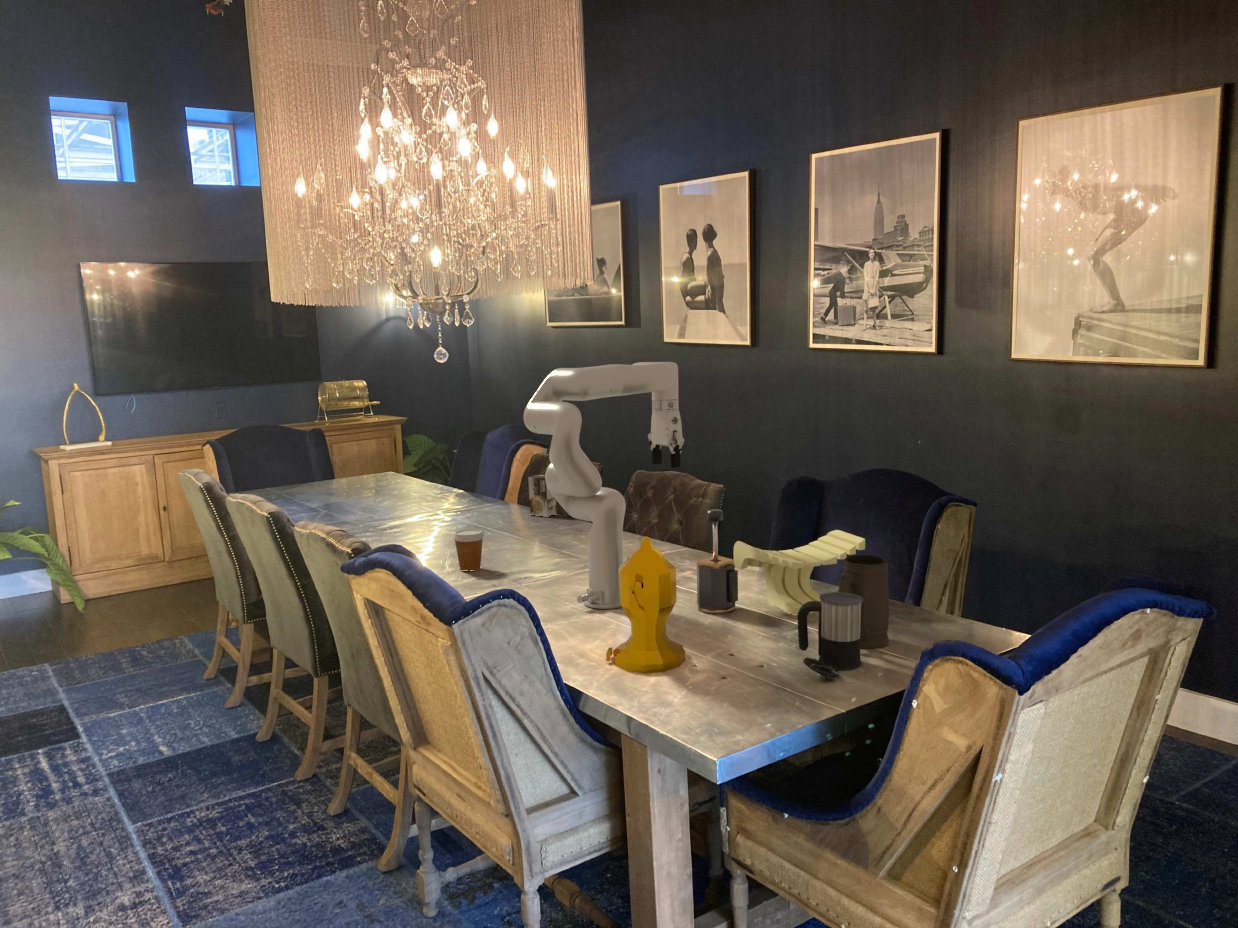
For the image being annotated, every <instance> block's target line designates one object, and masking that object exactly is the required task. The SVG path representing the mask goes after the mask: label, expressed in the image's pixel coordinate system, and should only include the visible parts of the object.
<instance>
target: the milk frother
mask: <svg viewBox="0 0 1238 928" xmlns="http://www.w3.org/2000/svg"><path fill="white" fill-rule="evenodd" d="M819 595H820V597H819V598H820V600H821V601H809V602H807V603H805V604H803V605H802V606H801V608H800V609H799V611H798V615H796V616H797V617H796V619H797V637H798V647H799V649H800V650H801V651H806V650H807V649H808V648H809V633H808V629H809V628H808V627H809V626H808V616H809V614H811V613H810V612H815V613H818V626H817V627H818V631H817V632H818V638H817V639H818V643H817V644H818V650H817V653H818V656H819V658H818V659H815V658H811V657H805V658H804V659H803V664H804V665H805V666H806V667H807V668H808V669H810V670H812V671H813V672H815V673H817V674H819V675H820V676H821V677H824V678H825V680H827V679H828V678H829V679H837V678H839V675H840V673H839V671H838V670H842V671H843V670H846V671H847V670H853V669H858V668H859V667H861V666H862V661H861V648H860V629H861V604H862V602H863V598H862V597H861V596H859V595H856V594H851V593H843V592H837V591H834V592H826V593H822V594H819Z"/></svg>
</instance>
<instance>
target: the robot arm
mask: <svg viewBox="0 0 1238 928" xmlns="http://www.w3.org/2000/svg"><path fill="white" fill-rule="evenodd" d="M646 393H651V411H652V413H651V422H650V432H649V433H648V434H647V438H648V444H649V446H650V449H649V450H650V451H651V465H662V463H663V454H662V453H663V451H662V447H668V448H669V451H670V453H669V467H670V468H671V469H675V468H681V454H682V450H683V447H684V444H685V443H684V442H685V438H684V437H683V430H682V429H683V427H682V426H683V425H682V418H681V412H680V410H679V408H680V407H679V366H678V364H677V363H676V362H674V361H673V362H672V361H643V362H642V361H641V362H635V363H632V364H621V363H616V364H613V363H612V364H604V365H597V366H595V365H594V366H588V367H587V366H585V367H559V368H558V367H557V368H555V369H553V370H552V371H551V372H550V373H549V374H548V375H547V376H546V377H545V379H543V381H542V383H541V384H540V385H539V387H538V389H537V390H536V391H535V392H534V394H533V395H532V397H531V399H530V400H529V402H527V405H526V406H525V408H524V411H523V423H524V426H525V427H526V428H527V429H528V430H529V431H530V432H531V433H533V434H534V433H535V434H538V435H540V434H541V435H552V438H551V441H550V442H551V443H550V447H549V452H548V457H549V461H550V463H549V464H548V466H547V468H546V469H545V470H546V471H545V473H544V475H545V481H546V485H547V488H548V490H549V491H550V493H551V494H552V495H553V496H554V498H555V499H556V502H558V505H560V506H561V507H562V508H563V510H564V511H565V512H566V513H567V515H569V516H570V517H572V518H574V519H575V520H581V521H587V522H592V525H591V527H590V530H589V532H588V534H587V541H586V542H587V565H588V566H587V567H588V569H587V570H588V588H586V592H585V593H584V594H581V595H578V596H577V598H576V600H577V602H578V603H579V604H581V603H583V605H585V606H586V607H588V608H591V609H600V610H611V609H619V608H622V606H621V604H620V601H619V567H620V565H621V564H622V563H623V562H624V545H623V544H624V542H623V541H624V538H623V535H624V533H623V531H624V521H625V520H624V519H625V514H626V507H627V506H626V505H627V504H626V500H625V498H624V495H623V494H621V492H620V491H618V490H616V489H614V488H611V487H606V486H605V487H604V486H602V485H603V481H602V476H601V474H600V473H599V471H598V469H597V468H596V466H595V465H594V463H592V462H591V461H592V460H591V459H589V458H588V456H587V455H586V453H585V452H584V451H583V449H582V448H581V445H580V435H581V428H582V423H583V420H582V413H581V411H580V409H579V408H578V407H577V406H576V405H575V404H573V403H571V402H566V401H577V402H580V401H581V402H583V401H592V400H597V399H603V398H610V397H623V396H629V395H635V394H646Z"/></svg>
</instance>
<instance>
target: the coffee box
mask: <svg viewBox="0 0 1238 928" xmlns="http://www.w3.org/2000/svg"><path fill="white" fill-rule="evenodd" d="M527 478H528V494H529V511H530V515H536V516H535V517H538V516H543V517H542V518H550V517H549V516H551V515H555V516H557V515H558V514H557V513H558V512H557V500H556V499H555V498H554V496H553V495H552V494H551V493H550V491H549V490H548V488H547V485H546V481H545V474H534V475H531V476H528V477H527ZM551 517H552V516H551Z"/></svg>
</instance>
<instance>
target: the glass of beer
mask: <svg viewBox="0 0 1238 928" xmlns="http://www.w3.org/2000/svg"><path fill="white" fill-rule="evenodd" d="M484 537H485V535H484V533H483V530H481V529H474V528H472V529H471V528H470V529H460V530H457V531H455V532H454V534H453V537H452V538H453V540H454V542H455V548H456V549H455V550H456V554H457V560H458V565H459V571H460V570H468V571H470V570H478V569H480V570H481V567H482V566H481V564H482V552H483V551H482V550H483V539H484ZM478 571H479V570H478Z"/></svg>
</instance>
